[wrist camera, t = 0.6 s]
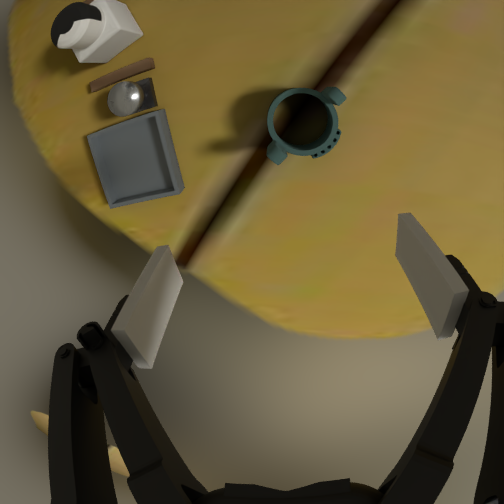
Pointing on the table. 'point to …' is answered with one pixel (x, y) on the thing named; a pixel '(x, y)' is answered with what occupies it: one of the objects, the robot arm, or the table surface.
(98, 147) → the tray
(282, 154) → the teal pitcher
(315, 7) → the table surface
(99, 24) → the medicine bottle
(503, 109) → the table surface
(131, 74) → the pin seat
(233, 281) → the table surface
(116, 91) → the knob
